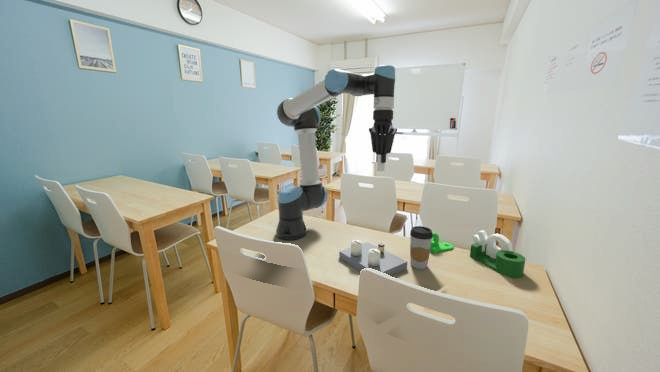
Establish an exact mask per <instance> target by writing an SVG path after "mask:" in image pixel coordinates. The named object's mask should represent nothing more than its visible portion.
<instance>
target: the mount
mask: <svg viewBox="0 0 660 372" xmlns="http://www.w3.org/2000/svg"><path fill="white" fill-rule="evenodd" d="M370 249H378V245H375V244H372V243H370V242H368V241H367V242H364V243H363V242H362V254H361V255H359V256H354V255H352V254H351V247H349V248H345V249H343V250H339V253H338V254H339V256H338V257H339V259H340V260H341V261H344V262H345V263H347V264H349V265H350V266H351V267H353V268H355V269H356V270H358V271H359V272H361V270H362V269H364V268H372V269H375V270H378V271H380V272H383V273H386V274H388V275H391V276H390V277H392V276H394V275H396V274H398V273H401V272H403V271H405V270H407V269H408V261H407V260H405V259H403V258H401V257H400V256H399V257H398V256H396V255H395V254H393V253H391V252H390V251H387V250H385V249H384V254H380V265H378V266H375V267H373V266H371V265H369V264H368V251H369V250H370Z"/></svg>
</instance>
